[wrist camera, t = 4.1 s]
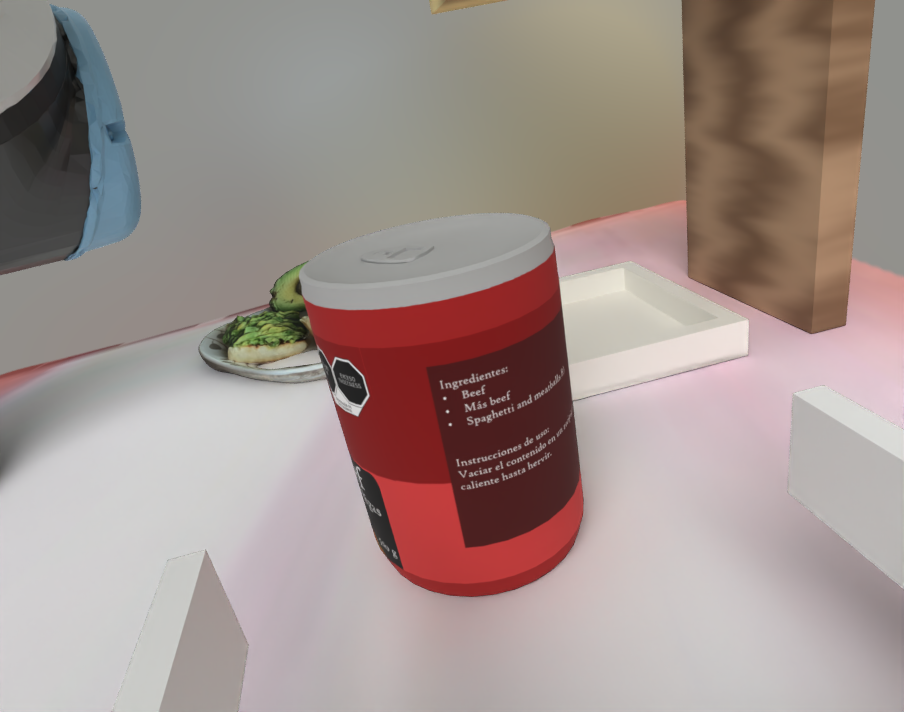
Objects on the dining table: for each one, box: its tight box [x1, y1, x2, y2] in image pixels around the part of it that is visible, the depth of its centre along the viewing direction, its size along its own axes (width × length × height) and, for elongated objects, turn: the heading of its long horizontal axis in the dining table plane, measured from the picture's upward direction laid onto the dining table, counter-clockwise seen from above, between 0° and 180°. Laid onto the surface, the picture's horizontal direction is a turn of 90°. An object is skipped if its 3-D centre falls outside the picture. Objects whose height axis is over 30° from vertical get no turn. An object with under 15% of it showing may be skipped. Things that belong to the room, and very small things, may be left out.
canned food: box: [299, 213, 583, 597], centre depth 21 cm, size 8×8×11 cm
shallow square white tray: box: [559, 261, 749, 401], centre depth 36 cm, size 13×13×2 cm
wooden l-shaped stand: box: [429, 0, 875, 334], centre depth 32 cm, size 12×17×20 cm
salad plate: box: [199, 261, 326, 383], centre depth 44 cm, size 19×18×5 cm
